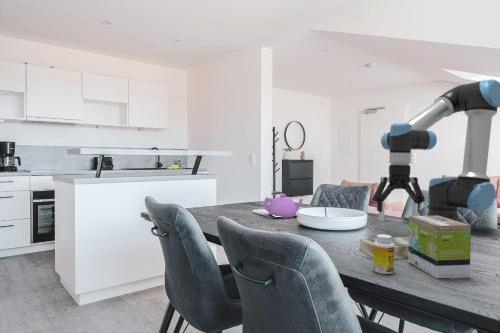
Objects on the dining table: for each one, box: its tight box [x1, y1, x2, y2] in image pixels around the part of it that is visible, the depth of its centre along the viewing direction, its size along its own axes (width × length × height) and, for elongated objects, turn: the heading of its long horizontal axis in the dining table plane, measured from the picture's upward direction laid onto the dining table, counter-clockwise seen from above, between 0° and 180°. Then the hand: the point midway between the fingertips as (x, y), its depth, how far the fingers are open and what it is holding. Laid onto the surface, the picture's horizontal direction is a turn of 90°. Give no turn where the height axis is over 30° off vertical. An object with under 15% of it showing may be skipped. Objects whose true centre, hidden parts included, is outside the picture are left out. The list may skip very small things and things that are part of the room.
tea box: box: [408, 215, 472, 279], centre depth 104 cm, size 15×10×15 cm, turn 5°
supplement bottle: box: [372, 234, 395, 275], centre depth 103 cm, size 6×6×10 cm
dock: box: [359, 237, 409, 260], centre depth 122 cm, size 18×12×4 cm, turn 99°
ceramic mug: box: [386, 221, 409, 237], centre depth 139 cm, size 11×8×8 cm
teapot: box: [262, 193, 304, 219], centre depth 198 cm, size 22×16×12 cm
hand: (398, 220), depth 138 cm, fingers open, 13 cm apart
